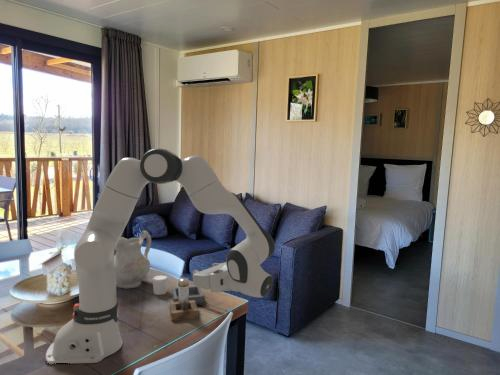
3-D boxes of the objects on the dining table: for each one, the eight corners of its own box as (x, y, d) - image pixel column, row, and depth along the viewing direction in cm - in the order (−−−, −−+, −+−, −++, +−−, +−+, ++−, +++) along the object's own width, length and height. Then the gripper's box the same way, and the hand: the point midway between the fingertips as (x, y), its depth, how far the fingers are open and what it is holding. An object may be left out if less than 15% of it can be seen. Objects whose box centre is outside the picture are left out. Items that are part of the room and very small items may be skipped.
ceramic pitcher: (134, 275, 191) (130, 227, 189) (163, 279, 182) (159, 229, 180) (99, 289, 172) (94, 236, 170) (129, 295, 163) (125, 239, 161)
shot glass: (164, 296, 163) (163, 280, 162) (149, 294, 165) (149, 279, 164) (170, 290, 170) (170, 275, 169) (156, 288, 171) (156, 274, 170)
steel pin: (178, 316, 144) (178, 281, 142) (177, 312, 148) (177, 278, 146) (189, 315, 145) (189, 280, 144) (188, 310, 149) (188, 277, 147)
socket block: (171, 320, 140) (171, 313, 140) (169, 309, 150) (169, 302, 150) (197, 317, 143) (198, 310, 143) (194, 307, 153) (194, 300, 152)
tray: (174, 307, 152) (174, 298, 152) (172, 295, 164) (172, 287, 163) (203, 304, 156) (203, 296, 155) (199, 293, 167) (199, 285, 167)
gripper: (250, 260, 135) (223, 253, 144) (209, 275, 120) (182, 267, 129) (250, 276, 136) (223, 269, 145) (210, 294, 121) (182, 285, 130)
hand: (203, 268), depth 137 cm, fingers open, 8 cm apart
